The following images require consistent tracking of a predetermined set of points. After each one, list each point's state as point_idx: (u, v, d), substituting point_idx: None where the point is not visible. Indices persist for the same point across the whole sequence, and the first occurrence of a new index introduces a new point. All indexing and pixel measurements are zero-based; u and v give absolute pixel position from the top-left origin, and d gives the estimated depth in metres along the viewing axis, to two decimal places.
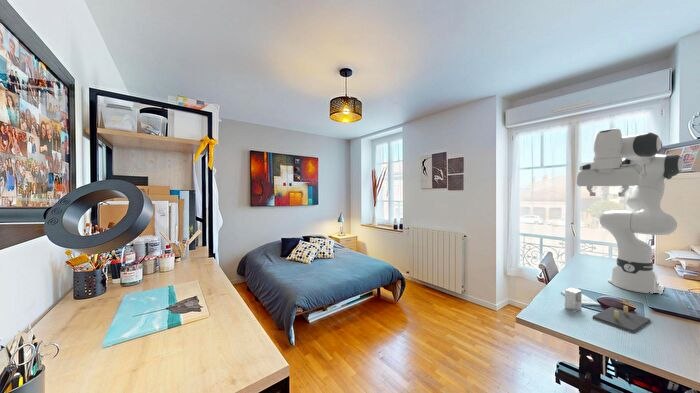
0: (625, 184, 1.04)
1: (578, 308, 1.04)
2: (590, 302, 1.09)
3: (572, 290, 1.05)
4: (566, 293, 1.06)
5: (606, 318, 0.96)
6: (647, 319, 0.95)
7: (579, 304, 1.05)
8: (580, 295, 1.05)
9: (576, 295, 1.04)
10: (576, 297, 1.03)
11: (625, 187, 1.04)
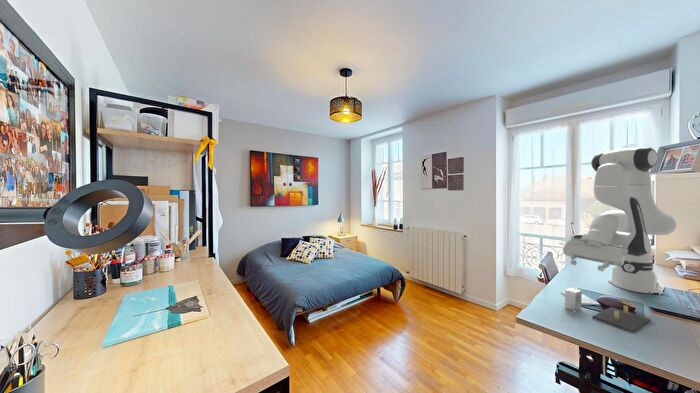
0: (608, 259, 1.05)
1: (578, 308, 1.04)
2: (590, 302, 1.09)
3: (572, 290, 1.05)
4: (566, 293, 1.06)
5: (606, 318, 0.96)
6: (647, 319, 0.95)
7: (579, 304, 1.05)
8: (580, 295, 1.05)
9: (576, 295, 1.04)
10: (576, 297, 1.03)
11: (607, 262, 1.05)
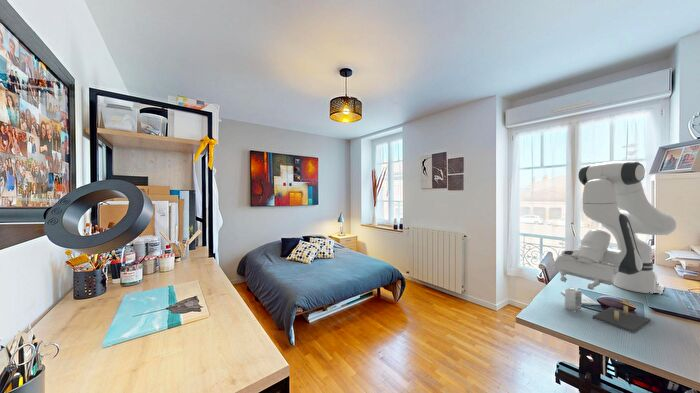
0: (598, 277, 1.02)
1: (578, 308, 1.04)
2: (590, 302, 1.09)
3: (572, 290, 1.05)
4: (566, 293, 1.06)
5: (606, 318, 0.96)
6: (647, 319, 0.95)
7: (579, 304, 1.05)
8: (580, 295, 1.05)
9: (576, 295, 1.04)
10: (576, 297, 1.03)
11: (597, 280, 1.02)
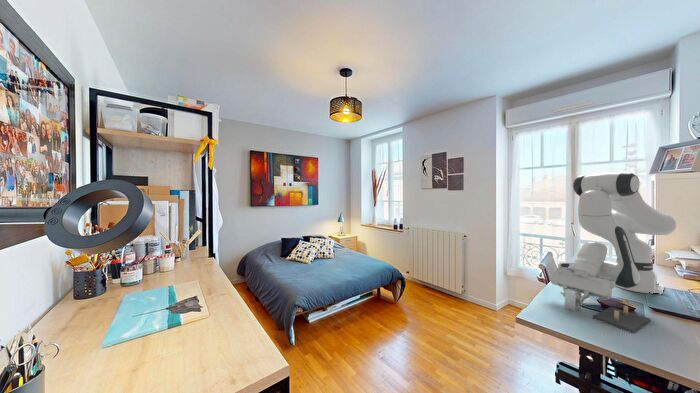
0: (595, 291, 1.01)
1: (578, 308, 1.04)
2: (590, 302, 1.09)
3: (572, 290, 1.05)
4: (566, 293, 1.06)
5: (606, 318, 0.96)
6: (647, 319, 0.95)
7: (579, 304, 1.05)
8: (580, 295, 1.05)
9: (576, 295, 1.04)
10: (576, 297, 1.03)
11: (586, 293, 1.03)
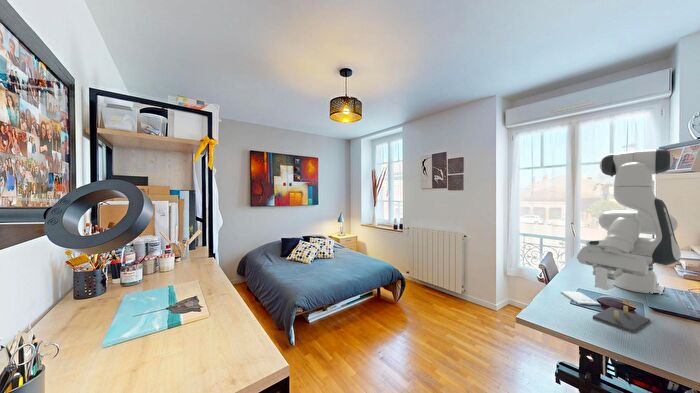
0: (629, 268, 0.94)
1: (610, 286, 0.97)
2: (590, 302, 1.09)
3: (603, 267, 0.98)
4: (596, 271, 0.99)
5: (606, 318, 0.96)
6: (647, 319, 0.95)
7: (611, 282, 0.98)
8: (612, 273, 0.98)
9: (608, 272, 0.97)
10: (608, 275, 0.97)
11: (620, 270, 0.96)
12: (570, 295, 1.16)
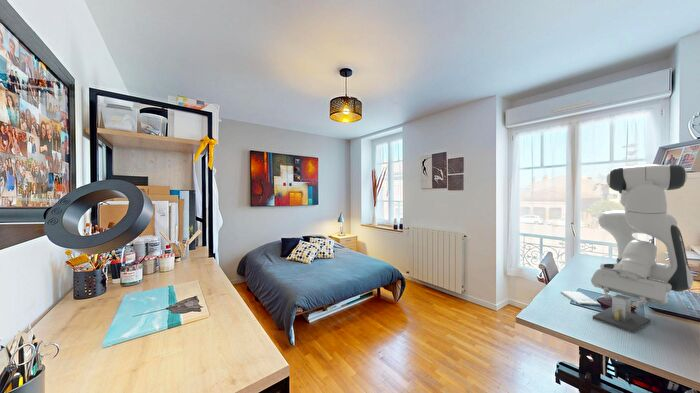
0: (648, 295, 0.91)
1: (628, 317, 0.95)
2: (590, 302, 1.10)
3: (621, 297, 0.96)
4: (614, 300, 0.96)
5: (606, 318, 0.96)
6: (647, 319, 0.95)
7: (629, 313, 0.95)
8: (629, 303, 0.95)
9: (626, 303, 0.94)
10: (626, 305, 0.94)
11: (643, 298, 0.92)
12: (570, 295, 1.16)
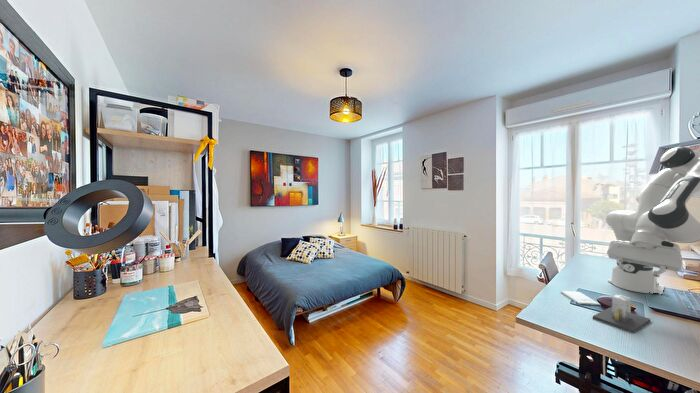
0: None
1: (628, 317, 0.95)
2: (590, 302, 1.10)
3: (621, 297, 0.96)
4: (614, 300, 0.96)
5: (606, 318, 0.96)
6: (647, 319, 0.95)
7: (629, 313, 0.95)
8: (629, 303, 0.95)
9: (626, 303, 0.94)
10: (626, 305, 0.94)
11: None
12: (570, 295, 1.16)
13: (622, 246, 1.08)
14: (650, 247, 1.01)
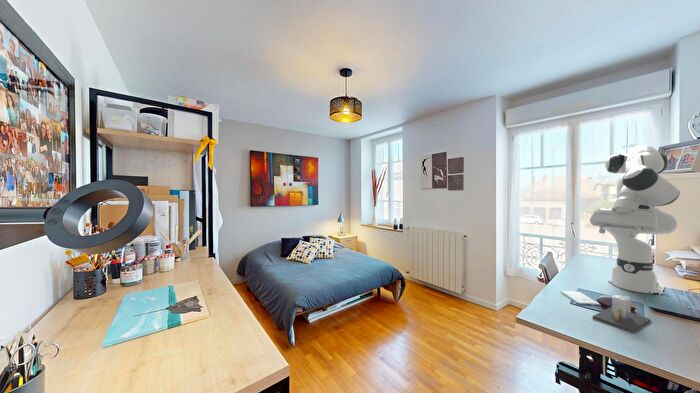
0: None
1: (628, 317, 0.95)
2: (590, 301, 1.10)
3: (621, 297, 0.96)
4: (614, 300, 0.96)
5: (606, 318, 0.96)
6: (647, 319, 0.95)
7: (629, 313, 0.95)
8: (629, 303, 0.95)
9: (626, 303, 0.94)
10: (626, 305, 0.94)
11: None
12: (570, 295, 1.16)
13: (604, 213, 1.14)
14: (628, 211, 1.07)
